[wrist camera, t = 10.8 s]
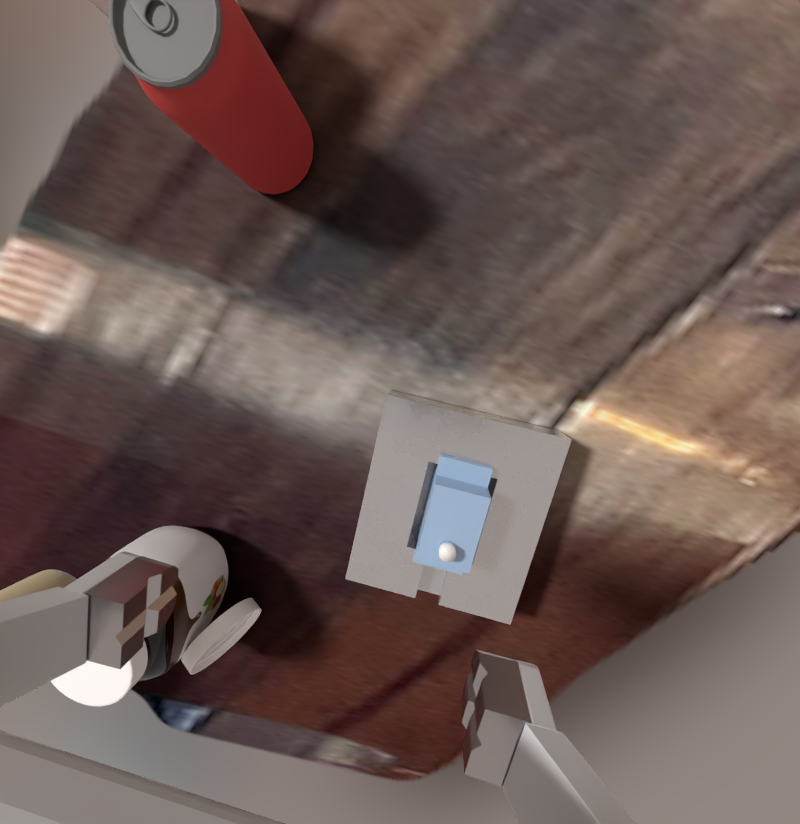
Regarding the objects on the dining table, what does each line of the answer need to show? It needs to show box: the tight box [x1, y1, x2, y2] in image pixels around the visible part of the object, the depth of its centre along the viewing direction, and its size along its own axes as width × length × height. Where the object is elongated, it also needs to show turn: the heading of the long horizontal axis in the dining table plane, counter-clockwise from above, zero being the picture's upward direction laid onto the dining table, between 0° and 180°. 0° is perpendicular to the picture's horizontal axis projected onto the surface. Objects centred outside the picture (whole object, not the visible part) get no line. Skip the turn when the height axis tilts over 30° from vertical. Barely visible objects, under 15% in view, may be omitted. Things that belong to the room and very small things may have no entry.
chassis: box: [345, 390, 572, 625], centre depth 30 cm, size 14×16×3 cm
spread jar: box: [51, 526, 261, 706], centre depth 30 cm, size 12×11×12 cm
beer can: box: [109, 0, 314, 194], centre depth 23 cm, size 7×7×12 cm
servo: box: [413, 454, 493, 575], centre depth 28 cm, size 4×9×6 cm, turn 167°
